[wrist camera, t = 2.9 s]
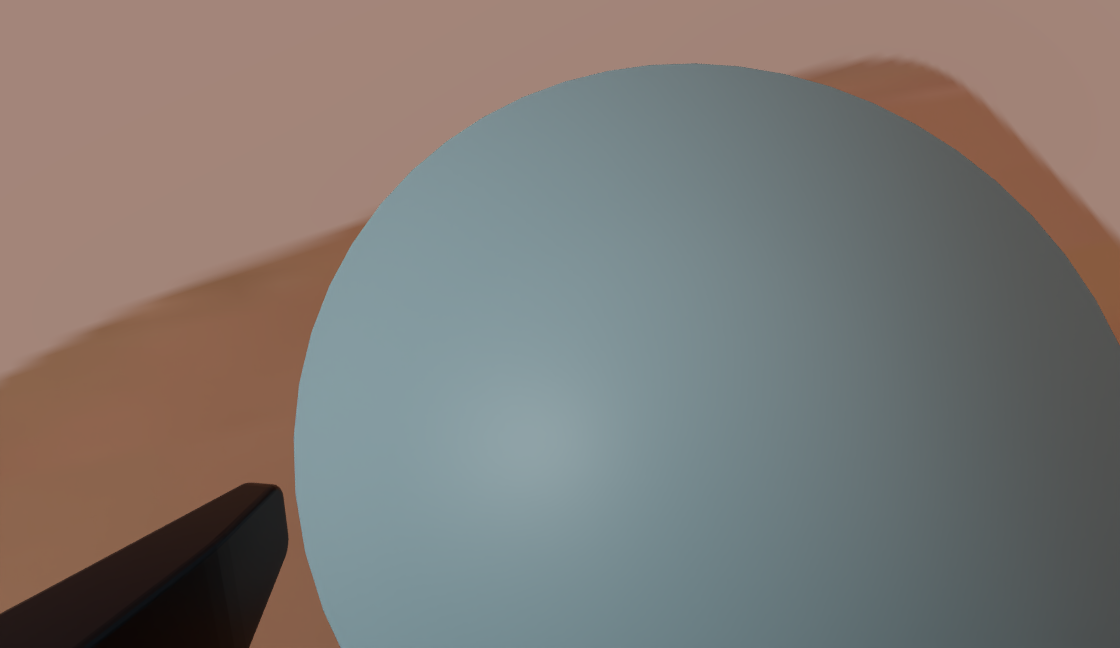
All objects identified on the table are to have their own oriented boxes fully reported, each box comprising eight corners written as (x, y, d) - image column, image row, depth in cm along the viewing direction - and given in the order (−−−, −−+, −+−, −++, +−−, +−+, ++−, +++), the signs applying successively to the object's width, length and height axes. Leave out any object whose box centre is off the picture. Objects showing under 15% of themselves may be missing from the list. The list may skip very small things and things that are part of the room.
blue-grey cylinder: (738, 657, 16) (1343, 840, 4) (497, 686, 15) (273, 993, 3) (693, 422, 18) (979, 36, 6) (480, 445, 17) (305, 94, 5)
